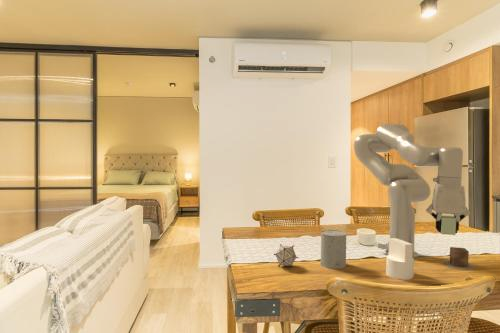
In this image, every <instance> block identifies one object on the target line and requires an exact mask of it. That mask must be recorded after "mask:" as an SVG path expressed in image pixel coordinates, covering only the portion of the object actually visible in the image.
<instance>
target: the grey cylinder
mask: <svg viewBox="0 0 500 333" xmlns="http://www.w3.org/2000/svg"><path fill="white" fill-rule="evenodd" d="M347 234H348V233H347V232H345V231H343V230H335V229H327V230H326V229H325V230H322V231H320V266H322V267H323V268H326V269H332V270H340V269H344V268H346V267H347Z"/></svg>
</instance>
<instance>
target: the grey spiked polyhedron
mask: <svg viewBox="0 0 500 333" xmlns="http://www.w3.org/2000/svg"><path fill="white" fill-rule="evenodd" d="M279 245H280V247H279V249H278V250H277V252H276V253H273V255H274V256H275V257H276V260H277V262H278V265H277V267H278V268H279V267H280V266H283V267H284V266H285V267H290V269H292V268H293V264H294V262H295V261H296V259H298V258H299V257H298V256H297V254H296V252H295V250H294V247H295V245H294V244H293V245H292V246H286V245H282V243H280V244H279Z"/></svg>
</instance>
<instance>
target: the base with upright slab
mask: <svg viewBox="0 0 500 333" xmlns="http://www.w3.org/2000/svg"><path fill="white" fill-rule="evenodd" d="M388 242H389V255H386V262H385V263H386V264H385V269H386V270H385V275H386V276H388V277H389V278H391V279H396V280H402V281H403V280H404V281H405V280H406V281H407V280H413V278H414V277H415V258H414V259H413V258H412V252H413V244H411V243H408V242H405V241H403V240H400V239H397V238H390V237H389V238H388Z"/></svg>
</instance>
